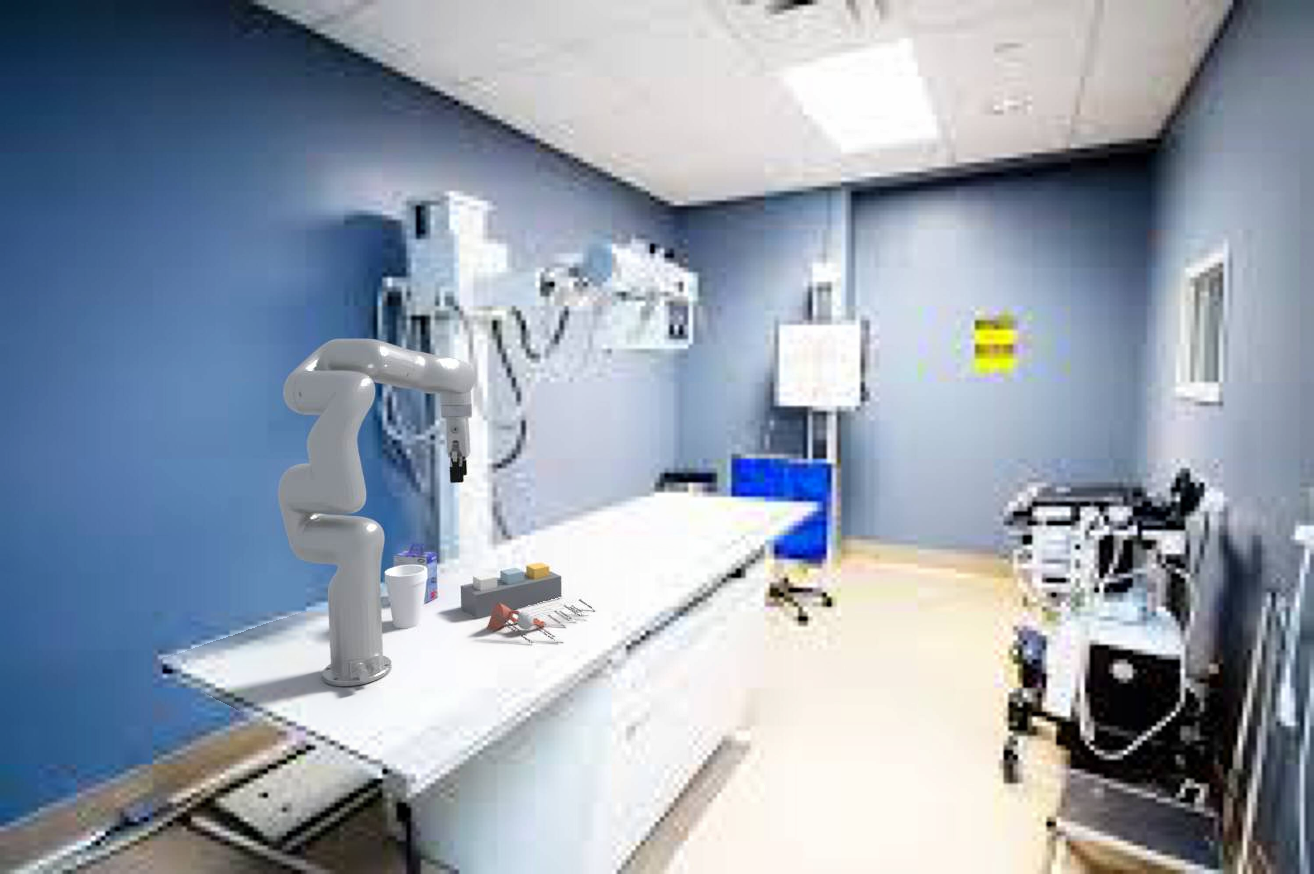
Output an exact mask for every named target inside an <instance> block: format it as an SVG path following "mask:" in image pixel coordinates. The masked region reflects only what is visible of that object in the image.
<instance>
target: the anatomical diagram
mask: <svg viewBox="0 0 1314 874" xmlns="http://www.w3.org/2000/svg"><path fill="white" fill-rule="evenodd" d="M574 602H575V600H574V601H570V602H569V604H571V603H574ZM578 602H580V603H582V604H583V605H585V606H587V607H588V608H590V609H592V607H593V606H591V605H589V604H588V603H586V602H585V601H583V600H582V599H581V598H580V599H578ZM557 603H558V604H559V605H557V606H556V605H555V608H556V607H559V606H563V608H561V610H560V608H559V609H557V610H556V609H554V610H552V608H551V607H550V608H546V609H543V610H539V609H541V608H545V607H547V606H552V605H554V604H557ZM566 604H567V605H568V602H566V603H563V604H561V603H560V602H554V603H551V604H548V605H545V606H542V607H537V608H534V609H531V610H528V611H519V610H518V609H516V610H511V609H509V608H508V607H506V606H504V605H502V604H501V603H500V602H498V604H496V603H495V606H494V609H493V612H492V615H491V616H490V618H489V621H488V623H487V626H486V629H487V630H492V631H497V630H499V629H501V628H502V627H504V626H505V627H507V628H508V629H510V630H511V631H512V632H515V634H517V635H518V636H520V638H521V637H522V638H523V639H524V640H525V641H527V642H528V643H530V641H531V639H529V638H527V637H526V636H527V633H525V632H524V630H525V631H526V630H529V629H531V628H532V627H533V626H534V627H536V628H537V629H538V631H539V632H540V633H542V634H544V635H545V636H547V637H548V638H549V639H551V640H552V639H553V640H554V637H555V635H553V634H552V633H550V631H548V630H546V629H545V628H544V627H545V626H544V625H546V622H545V621H543V620H542V621H541V620H540V619H539V618H540V617H541V618H542V617H543V618H544V617H545V616H547V617H548V618H550V619H552V620H553V621H554V622H556V623H557V624H560V623H562V622H561V621H560V620H557V619H556V618H554V617H553V616H552V615H551V614H554V613H555V614H557V615H558V616H559V617H561V618H562V619H564V620H565V621H567V622H570V621H571V620H570V619H572V616H569V615H567V614H566V613H564V612H563V611H562V609H568V610H569V611H570V612H572V613H573V614H575V615H576V616H578V617H579V616H580V617H581V615H580V614H578V613H581V612H583V611H582V610H580V609H579V608H577V607H575V606H574V605H573V604H571V606H567V605H566ZM534 610H538V611H534ZM530 611H534V612H533V614H535V613H539V614H535V615H532V612H530ZM544 611H545V612H544ZM546 611H547V612H546ZM548 611H549V612H548ZM529 612H530V613H529ZM540 612H542V613H540ZM514 615H517V618H515V617H514ZM510 621H511V622H513V624H511V622H510ZM516 623H517V624H516ZM515 624H516V625H517V626H518V627H519V628H521V629H523V630H521V629H519V628H518V627H517V626H515ZM541 626H543V627H541ZM539 627H540V628H539Z"/></svg>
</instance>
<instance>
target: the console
mask: <svg viewBox="0 0 1314 874" xmlns="http://www.w3.org/2000/svg"><path fill="white" fill-rule="evenodd" d="M558 597H561V598H562V576H561V575H559V574H557V573H555V572H553V571H551V570H549V576H548V577H544V578H539V579H532V578H530V577H528V576H526V572H525V571H524V582H521V583H516V584H511V585H507V584H505V583H503V582H501V581H500V577H497V588H493V589H488V590H484V591H479V590H477V589H475V588H474V587H473V582H472V583H468V584H464V585H463V584H462V585H460V609H461V610H462V611H464V612H465V613H467V614H468V615H469V616H471V617H472V618H474V619H476V620H478V619H482V618H483V619H484V618H487V617H491V615H492V612H493V609H494V606H495V603H496V604H498V602H500V603H501V604H502V605H504V606H506V607H508V608H509V609H511V610H514V609H516V610H519V609H518V608H520V609H523V607H524V608H527V607H526V606H528V605H532V606H535V605H534V604H536V605H538V604H537V603H540V602H543V601H548V600H551V599H555V598H558ZM548 602H549V601H548ZM540 604H541V603H540ZM528 607H529V606H528Z"/></svg>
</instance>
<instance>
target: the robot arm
mask: <svg viewBox="0 0 1314 874" xmlns="http://www.w3.org/2000/svg"><path fill="white" fill-rule="evenodd" d="M475 382H476V376H475V372H474V370H473V367H472V366H471V365H470V364H469V363H468V362H465V361H463V360H460V359H456V358H454V357H449V356H443V355H438V354H432V353H427V352H424V351H417V350H412V349H408V348H406V347H405V348H404V347H401V346H399V345H394V344H392V343H388V342H386V341H382V340H379V339H375V338H374V339H373V338H334V339H332V340H328V341H326V343H323V344H322V345H321V346H319V347H318V348H317V349H316V350H315V351H313V352H312V353H311V354H310V355H309V356H308V357H306V359H305V360H303V362H302V363H300V364H299V365H298V366H297V367H296V368H295V369H294V370H292V372H291V373H289V375H288V376H287V378H286V380H285V381H284V384H283V390H282V395H283V400H284V402H285V404H286V405H287V408H289V409H290V410H292V411H293V412H295V413H297V414H299V415H305V416H306V415H307V416H319V417H318V418H317V420H316V422H315V424H314V425H313V426H312V428H311V430H310V432H309V434H308V437H307V439H306V440H307V441H306V449H307V455H308V456H307V457H308V460H309V461H308V462H309V463H298V464H296V465H293V466H290V467H288V469H286V470H285V471H284V473H283V474H282V476H281V478H280V479H279V484H278V486H277V487H278V488H277V499H278V505H279V510H280V512H281V516H282V520H283V521H282V522H283V525H284V529H285V533H286V536H287V539H288V542H289V546H290V548H291V551H292V552H293V554H294V555H295V556H296V558H297V559H299V560H300V561H303V562H307V563H315V564H325V565H326V564H327V565H334V566H337V570H336V571H335V573H334V575H333V576H332V577H331V580H330V581H329V584H328V587H327V605H328V606H327V607H328V627H329V630H328V632H329V650H330V651H329V652H330V653H329V654H330V655H329V656H330V663H329V664H328V665H327V666H326V667H325V668H323V670H322V679H323V681H324V682H325V683H326V684H328V685H331V686H334V687H335V686H336V687H354V686H355V687H356V686H360V685H365V684H369V683H372V682H375V681H377V680H379V679H381V678H383V677H384V676H386V675H387V674H389V672H390V671H391V670H392V666H393V665H392V660H391V659H390V658H389V657H388V656H386V655H384V650H383V649H384V648H383V646H384V644H383V624H382V623H383V619H382V617H383V616H382V592H381V590H382V589H381V571H382V569H381V568H382V567H381V566H382V558H383V552H384V546H385V532H384V529H383V527H382V525H381V524H379V523H378V522H377V521H376V520H374V519H372V518H368V517H364V516H357V515H354V516H353V515H350V514H354V513H355V514H356V513H357V512H359V511H360V510H361V509H362V508H363V507H364V506H365V505H366V501H367V488H366V482H365V477H364V473H363V468H362V462H361V457H360V453H359V446H358V436H359V432H360V429H361V426H362V424H363V421H364V420H365V418H366V415H367V414H368V413H369V411H370V409H371V407H372V406H373V404H374V401H375V398H376V385H375V383H377V384H384V385H388V386H392V387H396V388H401V389H409V390H411V389H412V390H418V391H419V392H421V393H424V394H431V395H432V394H433V395H434V394H435V395H436V394H437V395H439V398H440V399H439V402H440V404H439V405H440V418H441V419H443V420H445V433H446V434H445V436H446V450H447V457H448V458H449V459H450V460H449V482H450V483H451V484H456V483H457V484H459V483H460V484H463V482H464V481H465V480H464V479H465V477H464V476H467V474H468V465H467V458H468V457H469V456H470V454H471V439H470V437H471V436H470V424H469V423H470V422H469V419H471V418H473V406H472V403H473V402H472V389H473V388H474V386H475V384H476V383H475Z"/></svg>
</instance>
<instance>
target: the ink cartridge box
mask: <svg viewBox="0 0 1314 874" xmlns="http://www.w3.org/2000/svg"><path fill="white" fill-rule="evenodd" d="M414 547H419V549H418V548H414ZM424 548H425V543H415V542H413V543H411V546H410V549H409V551H408V550H404V551H400V552H399V553H396V554H394V555H393V567H396V566H402V565H422V566H425V567H426V568H427V577H428V579H427V580H426V589H425V598H424V604H426V603H429V602H431V601H433V600H435V599H437V598H438V554H437V552H433V551H432V552H431V551H424Z"/></svg>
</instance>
